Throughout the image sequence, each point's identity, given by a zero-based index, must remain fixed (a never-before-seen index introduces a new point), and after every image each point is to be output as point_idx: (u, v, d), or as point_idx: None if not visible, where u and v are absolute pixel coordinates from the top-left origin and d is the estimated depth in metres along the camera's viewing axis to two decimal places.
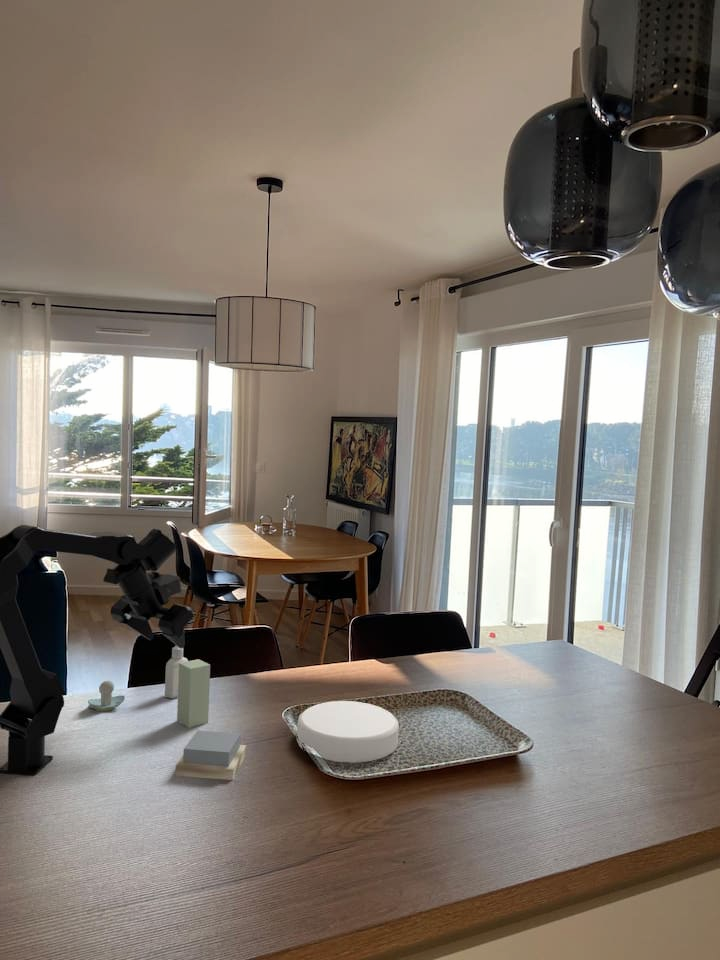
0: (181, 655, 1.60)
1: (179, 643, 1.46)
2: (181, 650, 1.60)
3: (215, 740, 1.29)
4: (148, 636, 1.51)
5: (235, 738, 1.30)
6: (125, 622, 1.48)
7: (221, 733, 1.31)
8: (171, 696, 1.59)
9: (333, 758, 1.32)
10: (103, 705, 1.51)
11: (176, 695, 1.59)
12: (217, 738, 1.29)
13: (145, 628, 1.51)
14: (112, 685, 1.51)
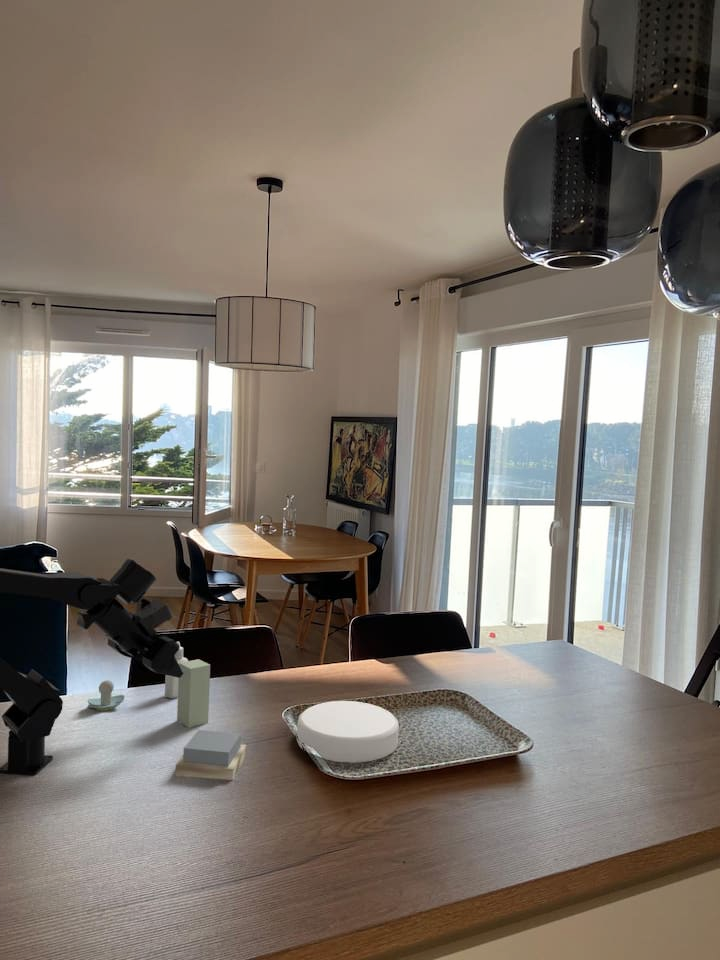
0: (181, 655, 1.60)
1: (174, 674, 1.37)
2: (181, 650, 1.60)
3: (215, 739, 1.29)
4: None
5: (236, 738, 1.30)
6: (123, 653, 1.42)
7: (222, 733, 1.31)
8: (171, 696, 1.59)
9: (333, 758, 1.32)
10: (103, 705, 1.51)
11: (176, 695, 1.59)
12: (218, 738, 1.29)
13: None
14: (112, 685, 1.51)
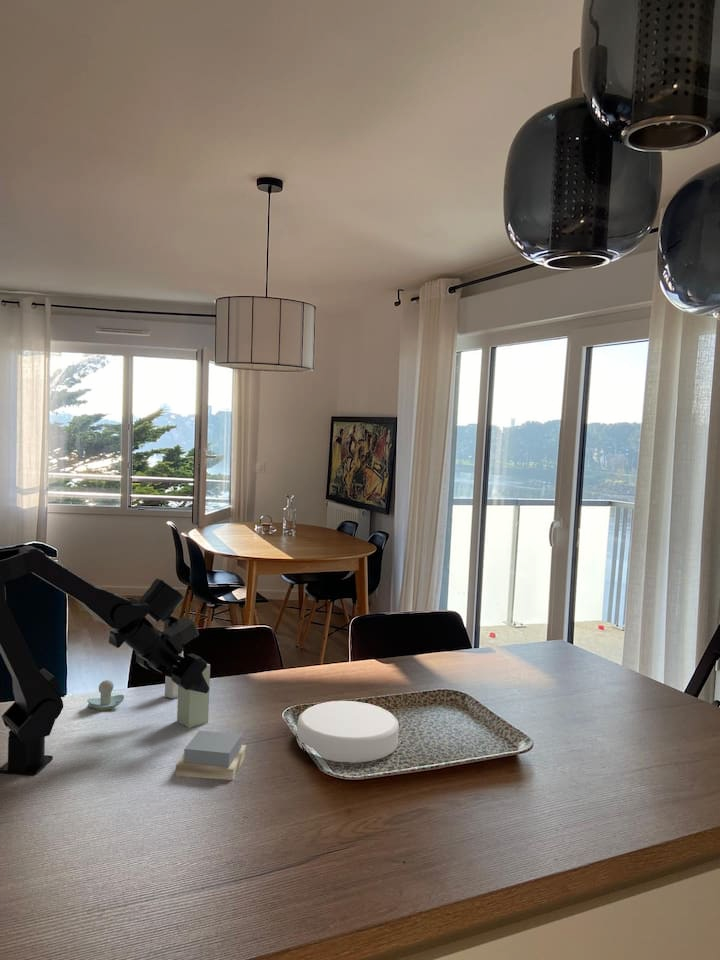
0: (181, 655, 1.60)
1: (201, 690, 1.42)
2: None
3: (216, 740, 1.28)
4: None
5: (236, 739, 1.29)
6: (151, 669, 1.46)
7: (222, 734, 1.31)
8: (171, 696, 1.59)
9: (333, 758, 1.32)
10: (102, 704, 1.51)
11: (176, 695, 1.59)
12: (219, 738, 1.29)
13: (174, 670, 1.48)
14: (111, 684, 1.51)
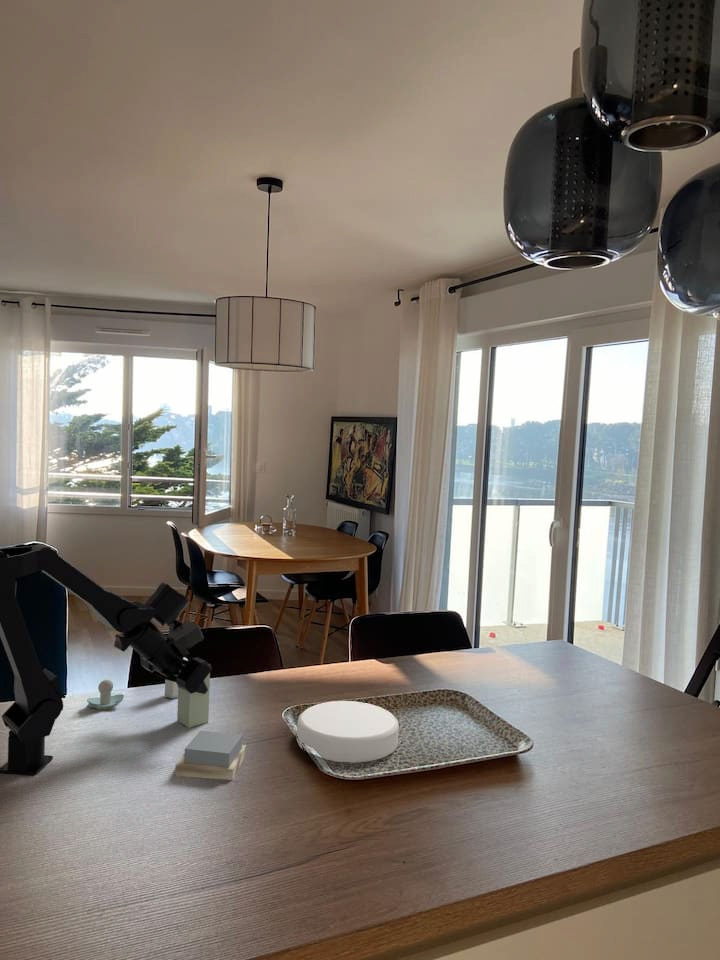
0: None
1: (200, 690, 1.44)
2: None
3: (216, 740, 1.28)
4: None
5: (237, 739, 1.29)
6: (161, 675, 1.45)
7: (223, 734, 1.31)
8: (171, 696, 1.59)
9: (333, 758, 1.32)
10: (102, 704, 1.51)
11: (176, 695, 1.59)
12: (219, 739, 1.29)
13: None
14: (111, 684, 1.52)
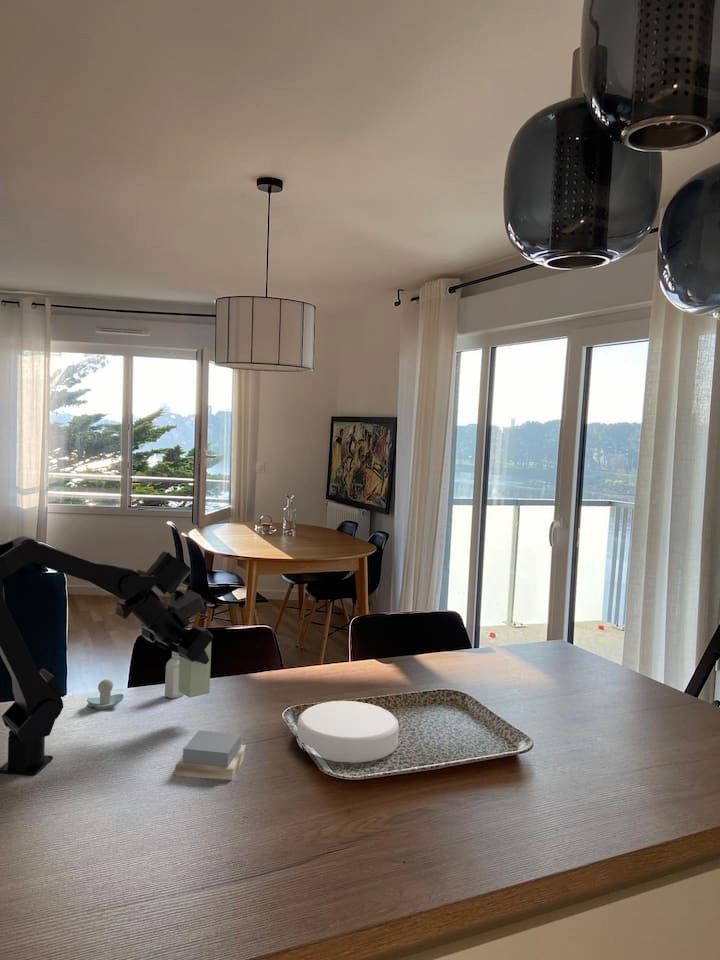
0: None
1: (201, 660, 1.44)
2: None
3: (215, 740, 1.29)
4: None
5: (235, 739, 1.29)
6: (162, 645, 1.45)
7: (222, 734, 1.31)
8: (171, 696, 1.59)
9: (333, 758, 1.32)
10: (102, 703, 1.51)
11: (176, 695, 1.59)
12: (218, 738, 1.29)
13: None
14: (111, 684, 1.52)
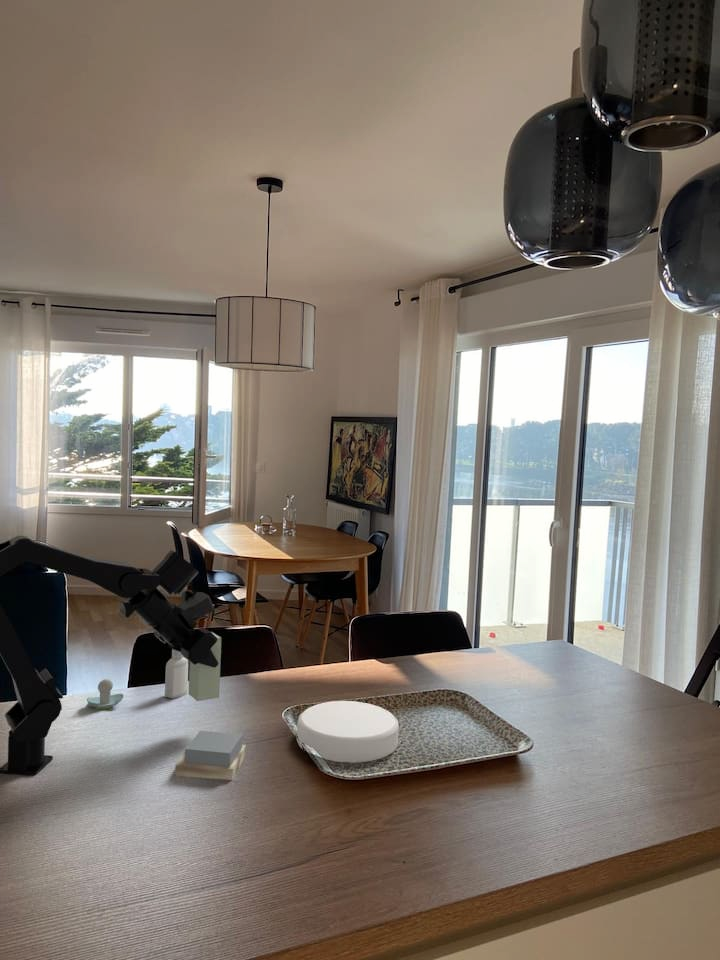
0: (181, 655, 1.60)
1: (209, 663, 1.39)
2: None
3: (216, 740, 1.28)
4: None
5: (237, 739, 1.29)
6: (172, 646, 1.42)
7: (223, 734, 1.31)
8: (171, 696, 1.59)
9: (333, 758, 1.32)
10: (102, 703, 1.52)
11: (176, 695, 1.59)
12: (219, 739, 1.29)
13: None
14: (111, 683, 1.52)
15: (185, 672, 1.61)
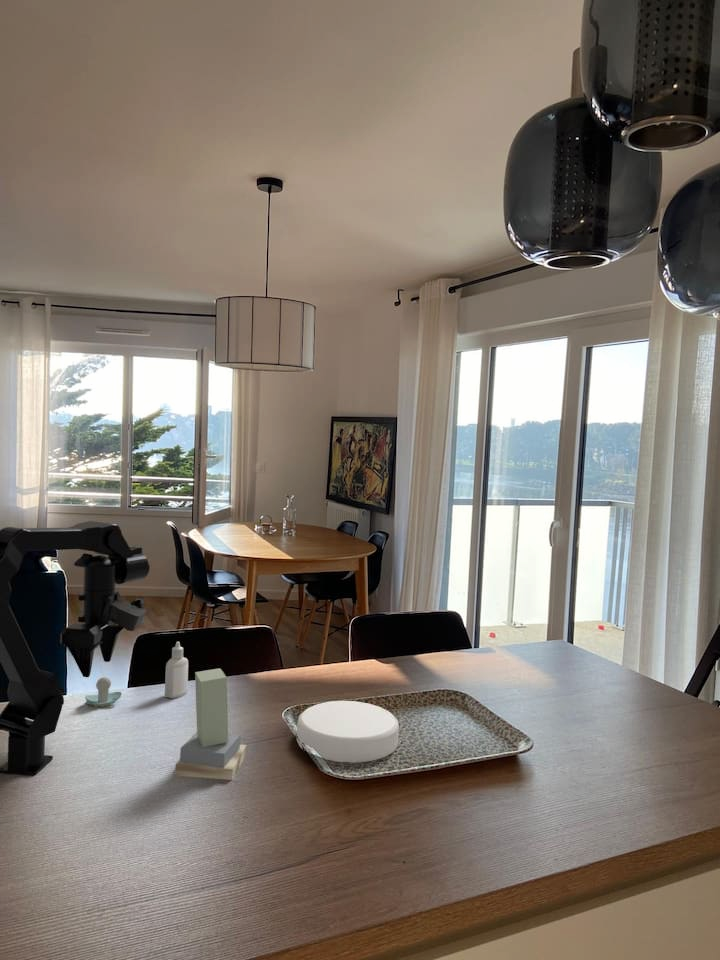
0: (181, 655, 1.60)
1: (80, 667, 1.32)
2: (181, 650, 1.60)
3: None
4: (104, 655, 1.42)
5: (234, 739, 1.29)
6: None
7: None
8: (171, 696, 1.59)
9: (333, 758, 1.32)
10: (100, 701, 1.53)
11: (176, 695, 1.59)
12: None
13: (107, 646, 1.42)
14: (109, 681, 1.53)
15: (185, 672, 1.61)
